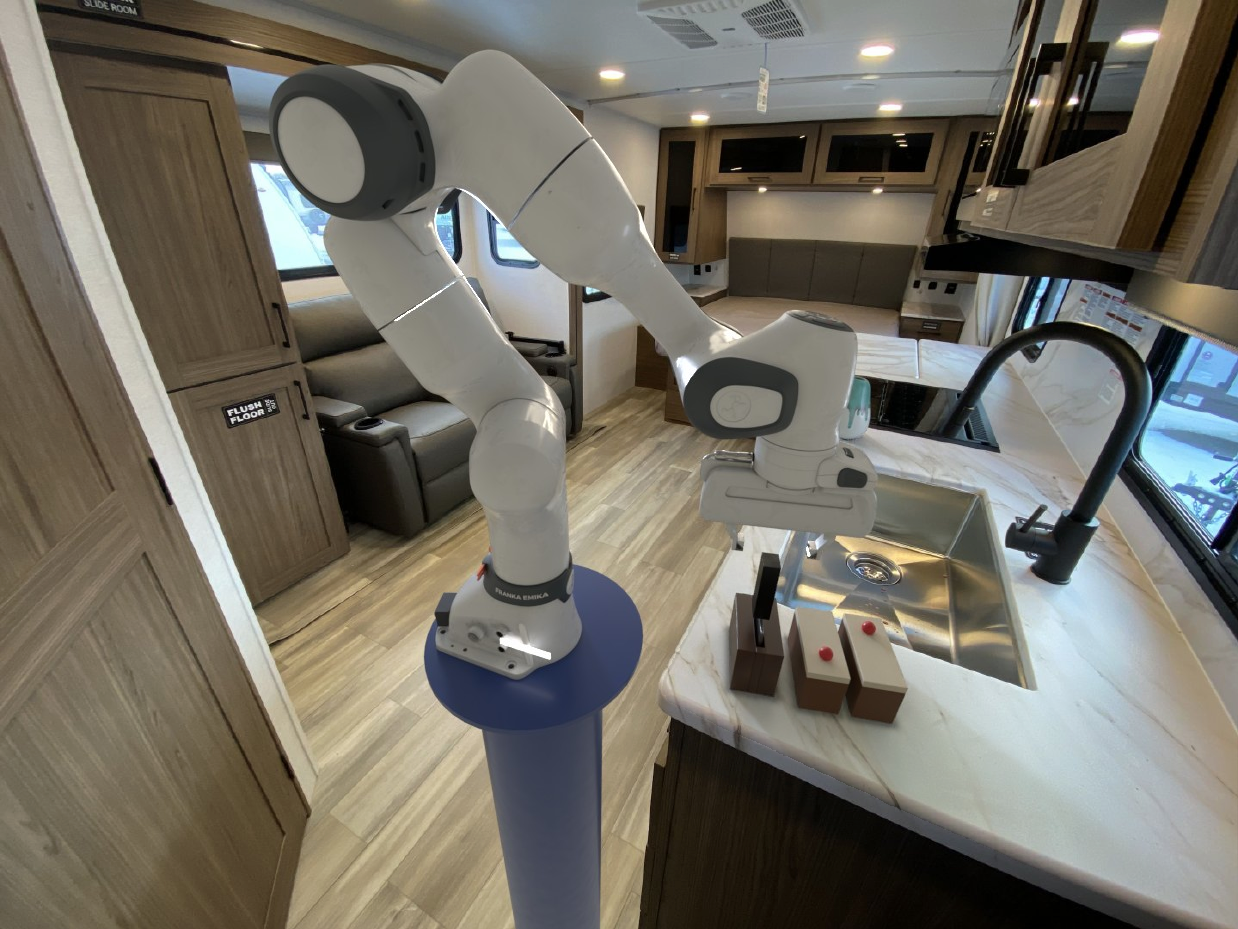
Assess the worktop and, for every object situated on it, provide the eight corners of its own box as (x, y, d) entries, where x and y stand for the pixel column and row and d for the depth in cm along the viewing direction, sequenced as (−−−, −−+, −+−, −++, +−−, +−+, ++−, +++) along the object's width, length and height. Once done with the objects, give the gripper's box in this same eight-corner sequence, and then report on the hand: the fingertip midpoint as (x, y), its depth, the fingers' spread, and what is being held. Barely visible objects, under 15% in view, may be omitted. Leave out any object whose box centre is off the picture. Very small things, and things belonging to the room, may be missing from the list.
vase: (861, 429, 151) (877, 373, 142) (867, 445, 141) (885, 385, 133) (821, 424, 154) (835, 369, 145) (825, 439, 144) (839, 380, 135)
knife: (743, 683, 70) (764, 579, 61) (741, 639, 77) (760, 540, 68) (759, 685, 69) (783, 581, 60) (755, 642, 76) (776, 542, 67)
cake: (797, 707, 66) (810, 664, 62) (787, 639, 77) (797, 598, 73) (892, 724, 64) (912, 680, 61) (868, 652, 75) (884, 610, 71)
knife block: (729, 689, 69) (737, 649, 65) (728, 630, 78) (735, 592, 74) (774, 697, 68) (784, 656, 64) (767, 636, 77) (776, 598, 73)
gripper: (701, 460, 56) (691, 557, 62) (894, 478, 53) (862, 578, 59) (703, 437, 61) (694, 529, 68) (878, 453, 58) (850, 547, 65)
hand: (774, 552), depth 63 cm, fingers open, 8 cm apart
